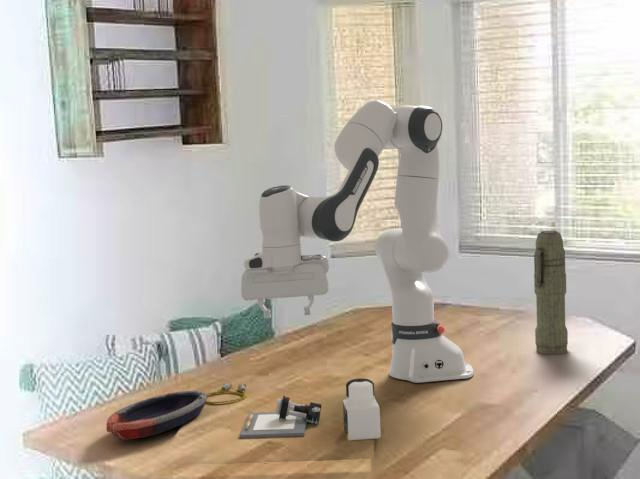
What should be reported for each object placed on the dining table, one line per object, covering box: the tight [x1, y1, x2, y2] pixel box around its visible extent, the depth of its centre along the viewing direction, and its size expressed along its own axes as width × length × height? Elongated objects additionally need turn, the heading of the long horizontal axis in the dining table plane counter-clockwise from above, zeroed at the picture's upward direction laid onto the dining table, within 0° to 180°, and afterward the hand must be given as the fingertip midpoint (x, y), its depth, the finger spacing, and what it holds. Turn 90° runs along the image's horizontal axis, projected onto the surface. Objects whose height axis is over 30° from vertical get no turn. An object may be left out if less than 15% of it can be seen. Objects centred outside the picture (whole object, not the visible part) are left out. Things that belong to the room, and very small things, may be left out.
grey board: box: [239, 411, 308, 439], centre depth 203 cm, size 14×16×1 cm
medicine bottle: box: [342, 378, 382, 441], centre depth 193 cm, size 7×7×12 cm
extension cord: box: [205, 381, 247, 406], centre depth 229 cm, size 12×16×2 cm
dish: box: [106, 390, 208, 440], centre depth 208 cm, size 16×31×5 cm, turn 145°
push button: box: [275, 395, 322, 425], centre depth 203 cm, size 7×5×10 cm
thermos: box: [533, 230, 569, 356], centre depth 255 cm, size 9×12×35 cm
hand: (287, 316), depth 207 cm, fingers open, 8 cm apart
